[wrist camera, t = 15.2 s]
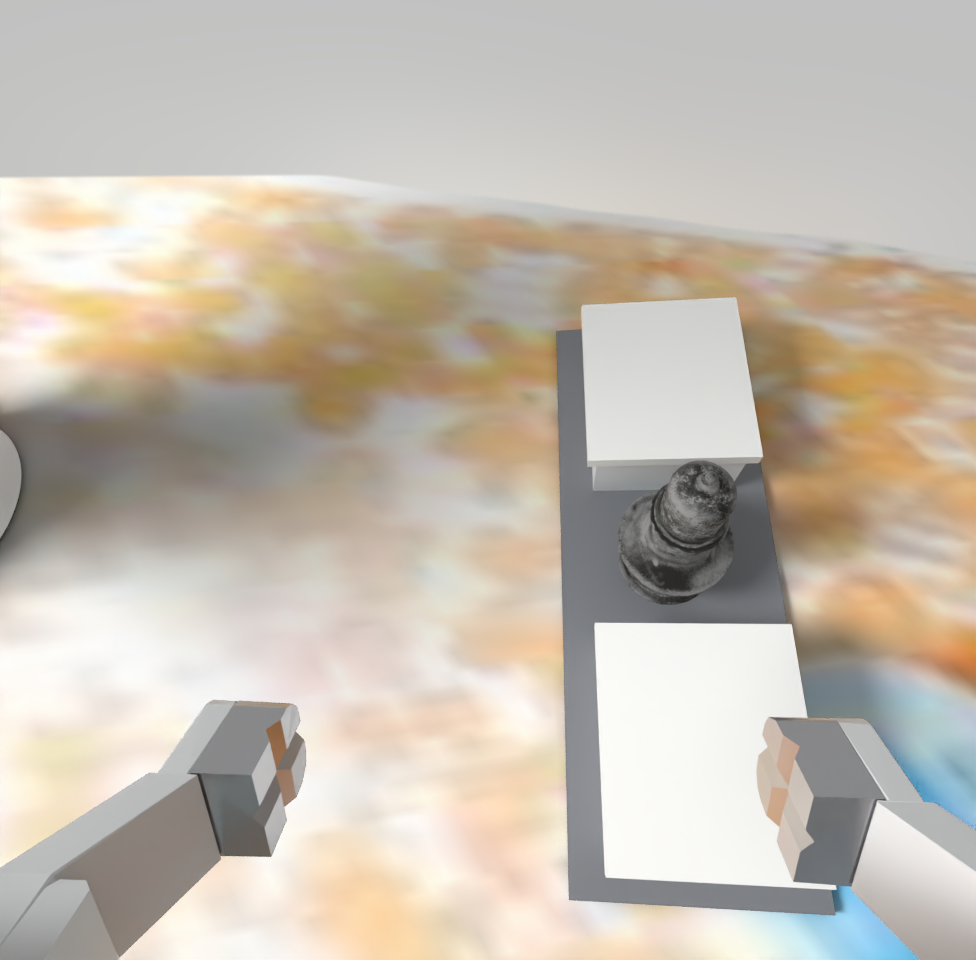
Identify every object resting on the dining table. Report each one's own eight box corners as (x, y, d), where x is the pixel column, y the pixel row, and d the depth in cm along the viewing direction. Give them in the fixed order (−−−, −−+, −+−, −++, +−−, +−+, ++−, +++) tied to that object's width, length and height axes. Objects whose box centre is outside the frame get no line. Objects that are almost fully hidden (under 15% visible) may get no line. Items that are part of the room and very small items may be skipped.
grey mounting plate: (568, 897, 29) (570, 928, 24) (556, 335, 42) (556, 282, 37) (831, 912, 28) (887, 948, 23) (734, 327, 41) (758, 271, 36)
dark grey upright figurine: (687, 496, 36) (742, 389, 25) (737, 587, 34) (822, 513, 23) (596, 532, 36) (611, 439, 25) (639, 626, 33) (678, 569, 22)
